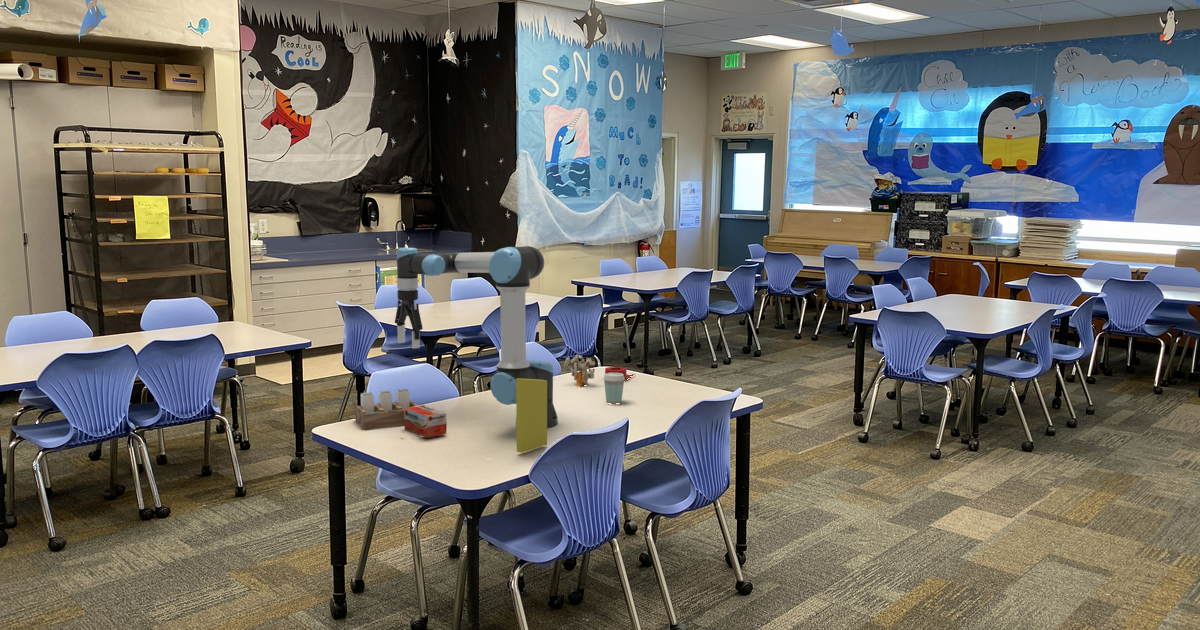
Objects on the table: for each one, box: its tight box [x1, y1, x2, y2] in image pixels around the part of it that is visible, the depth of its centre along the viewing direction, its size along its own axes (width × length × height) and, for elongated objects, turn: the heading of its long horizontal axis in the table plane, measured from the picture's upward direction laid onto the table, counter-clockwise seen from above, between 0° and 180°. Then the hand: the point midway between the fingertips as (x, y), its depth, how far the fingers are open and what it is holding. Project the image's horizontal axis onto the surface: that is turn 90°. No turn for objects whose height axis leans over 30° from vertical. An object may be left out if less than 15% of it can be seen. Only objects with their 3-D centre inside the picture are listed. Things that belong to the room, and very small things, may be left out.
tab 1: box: [360, 391, 375, 413], centre depth 309 cm, size 3×4×7 cm
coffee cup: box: [603, 373, 625, 404], centre depth 340 cm, size 8×8×12 cm
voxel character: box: [562, 354, 596, 387], centre depth 366 cm, size 11×10×15 cm
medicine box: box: [404, 404, 448, 439], centre depth 298 cm, size 15×8×8 cm, turn 44°
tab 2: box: [378, 389, 393, 411], centre depth 312 cm, size 3×4×7 cm
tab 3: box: [395, 388, 411, 409], centre depth 315 cm, size 3×4×7 cm
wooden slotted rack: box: [354, 399, 419, 431], centre depth 310 cm, size 14×20×6 cm
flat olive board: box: [515, 378, 548, 454], centre depth 279 cm, size 12×2×24 cm, turn 141°
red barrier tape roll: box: [604, 366, 636, 382], centre depth 383 cm, size 18×9×7 cm, turn 140°
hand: (408, 345), depth 323 cm, fingers open, 13 cm apart
